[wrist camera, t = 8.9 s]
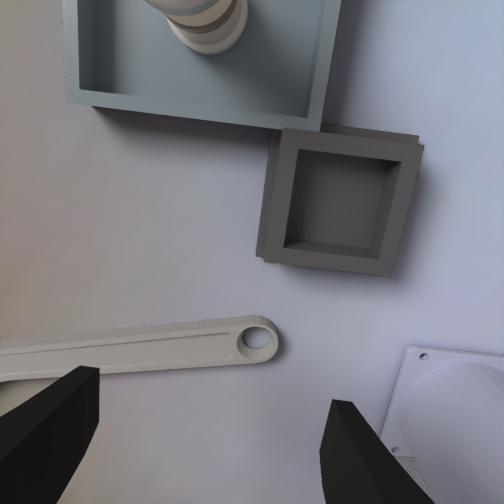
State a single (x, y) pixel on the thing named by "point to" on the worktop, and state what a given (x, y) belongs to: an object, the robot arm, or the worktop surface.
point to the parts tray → (202, 63)
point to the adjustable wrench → (137, 348)
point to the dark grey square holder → (337, 198)
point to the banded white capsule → (206, 23)
